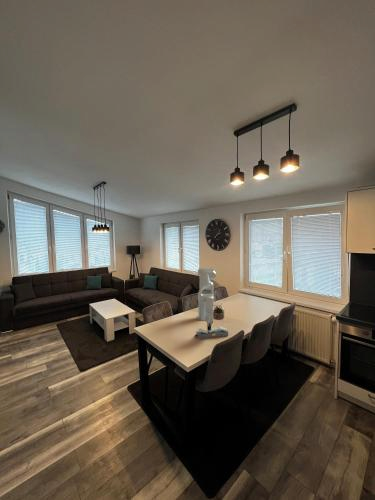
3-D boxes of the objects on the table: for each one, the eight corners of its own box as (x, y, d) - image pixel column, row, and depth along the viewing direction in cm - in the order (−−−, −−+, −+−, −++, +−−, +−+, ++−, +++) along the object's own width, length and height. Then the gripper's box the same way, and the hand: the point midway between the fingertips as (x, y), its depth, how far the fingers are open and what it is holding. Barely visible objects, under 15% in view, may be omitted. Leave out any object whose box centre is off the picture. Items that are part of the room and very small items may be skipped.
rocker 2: (208, 330, 191) (207, 329, 191) (216, 328, 193) (215, 326, 193) (209, 332, 187) (209, 330, 187) (217, 330, 189) (217, 328, 189)
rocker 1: (198, 329, 189) (198, 327, 189) (205, 331, 191) (206, 330, 191) (199, 331, 185) (200, 329, 185) (207, 333, 187) (207, 331, 187)
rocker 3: (217, 327, 193) (217, 325, 193) (224, 329, 195) (225, 328, 195) (219, 329, 189) (219, 327, 190) (226, 331, 191) (227, 329, 192)
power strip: (193, 335, 190) (193, 330, 190) (224, 332, 198) (225, 327, 198) (195, 339, 184) (196, 333, 183) (228, 335, 191) (228, 330, 191)
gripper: (203, 307, 195) (202, 326, 195) (208, 313, 180) (208, 333, 181) (210, 307, 196) (210, 326, 197) (216, 312, 182) (216, 332, 183)
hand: (209, 329), depth 189 cm, fingers closed
